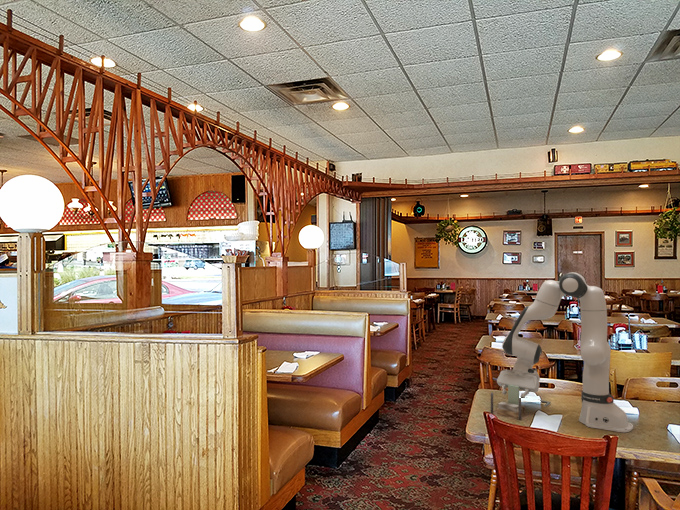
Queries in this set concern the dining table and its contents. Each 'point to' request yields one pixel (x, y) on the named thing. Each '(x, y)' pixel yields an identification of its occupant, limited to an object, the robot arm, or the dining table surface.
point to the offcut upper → (508, 407)
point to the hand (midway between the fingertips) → (513, 395)
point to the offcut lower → (508, 413)
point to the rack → (521, 416)
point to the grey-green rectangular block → (513, 394)
